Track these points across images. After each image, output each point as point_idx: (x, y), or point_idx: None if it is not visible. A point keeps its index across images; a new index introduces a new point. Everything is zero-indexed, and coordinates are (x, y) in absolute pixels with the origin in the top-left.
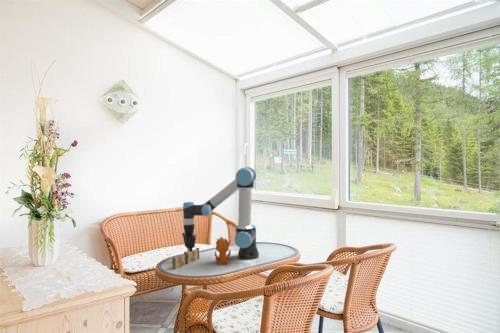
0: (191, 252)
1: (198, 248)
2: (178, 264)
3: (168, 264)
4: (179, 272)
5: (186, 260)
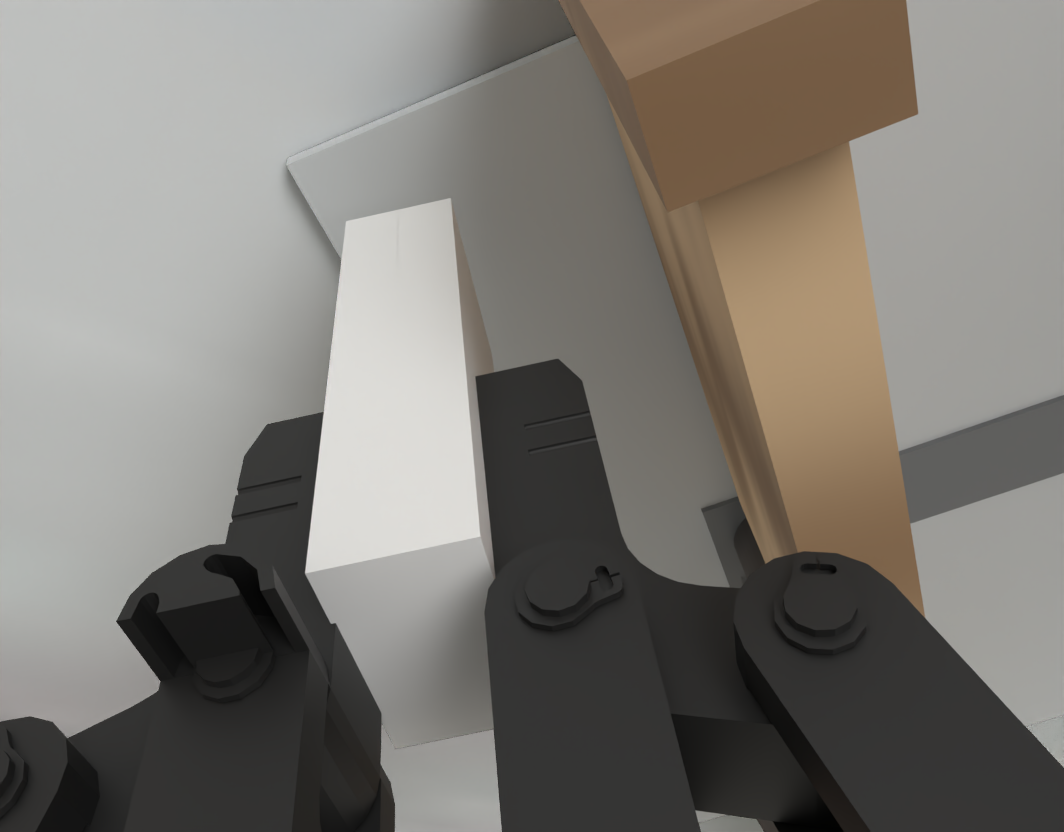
0: None
1: (906, 61)
2: None
3: None
4: (1056, 748)
5: None
